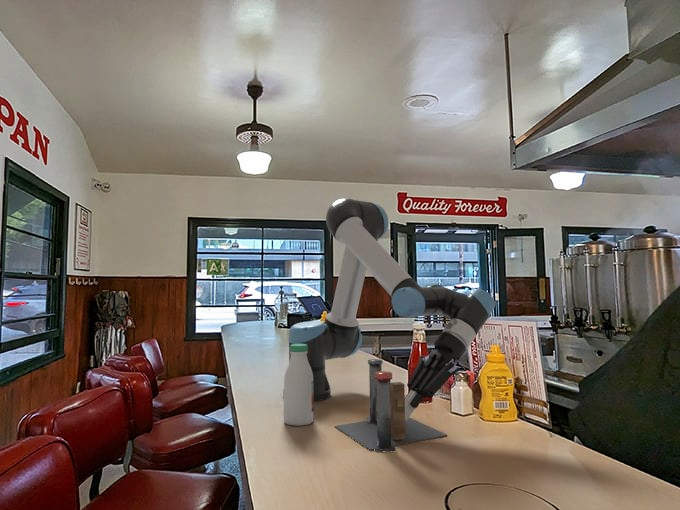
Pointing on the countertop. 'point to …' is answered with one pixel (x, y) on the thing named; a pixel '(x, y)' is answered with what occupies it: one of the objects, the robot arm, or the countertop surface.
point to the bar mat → (413, 433)
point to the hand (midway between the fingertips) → (401, 416)
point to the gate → (396, 410)
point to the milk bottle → (298, 388)
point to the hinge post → (373, 386)
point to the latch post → (383, 412)
